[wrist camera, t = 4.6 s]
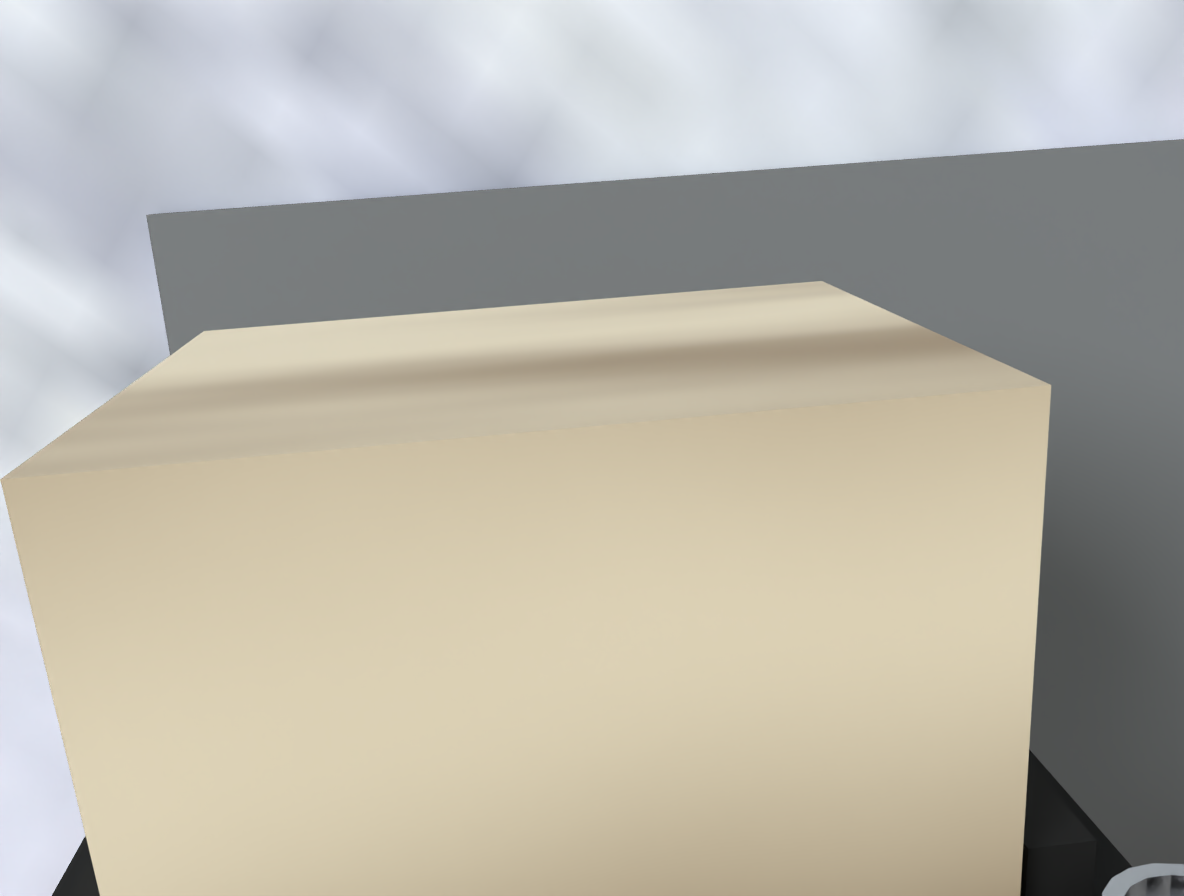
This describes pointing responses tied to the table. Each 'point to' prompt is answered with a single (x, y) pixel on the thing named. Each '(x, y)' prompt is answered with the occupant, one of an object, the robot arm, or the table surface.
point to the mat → (890, 281)
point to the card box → (550, 604)
